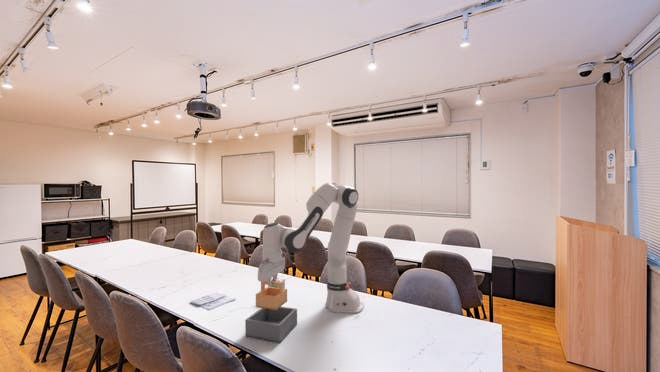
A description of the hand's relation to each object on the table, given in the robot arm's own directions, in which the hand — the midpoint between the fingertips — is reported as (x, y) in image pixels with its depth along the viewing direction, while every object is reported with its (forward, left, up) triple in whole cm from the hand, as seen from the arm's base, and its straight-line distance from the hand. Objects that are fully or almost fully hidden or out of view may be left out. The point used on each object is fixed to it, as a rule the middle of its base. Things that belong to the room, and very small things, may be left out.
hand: (272, 284), depth 135 cm
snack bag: (+53, -20, -23) cm, 61 cm away
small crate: (0, 0, -9) cm, 9 cm away
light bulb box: (+18, -37, -23) cm, 47 cm away
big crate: (0, 0, -22) cm, 22 cm away
